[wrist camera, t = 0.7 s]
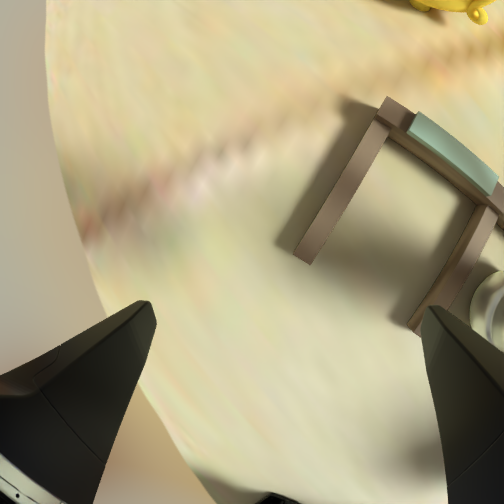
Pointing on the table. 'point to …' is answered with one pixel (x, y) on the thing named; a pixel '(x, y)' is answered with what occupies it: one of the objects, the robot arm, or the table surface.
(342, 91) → the table surface
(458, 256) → the comb rack
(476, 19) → the teapot
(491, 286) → the plastic bottle
